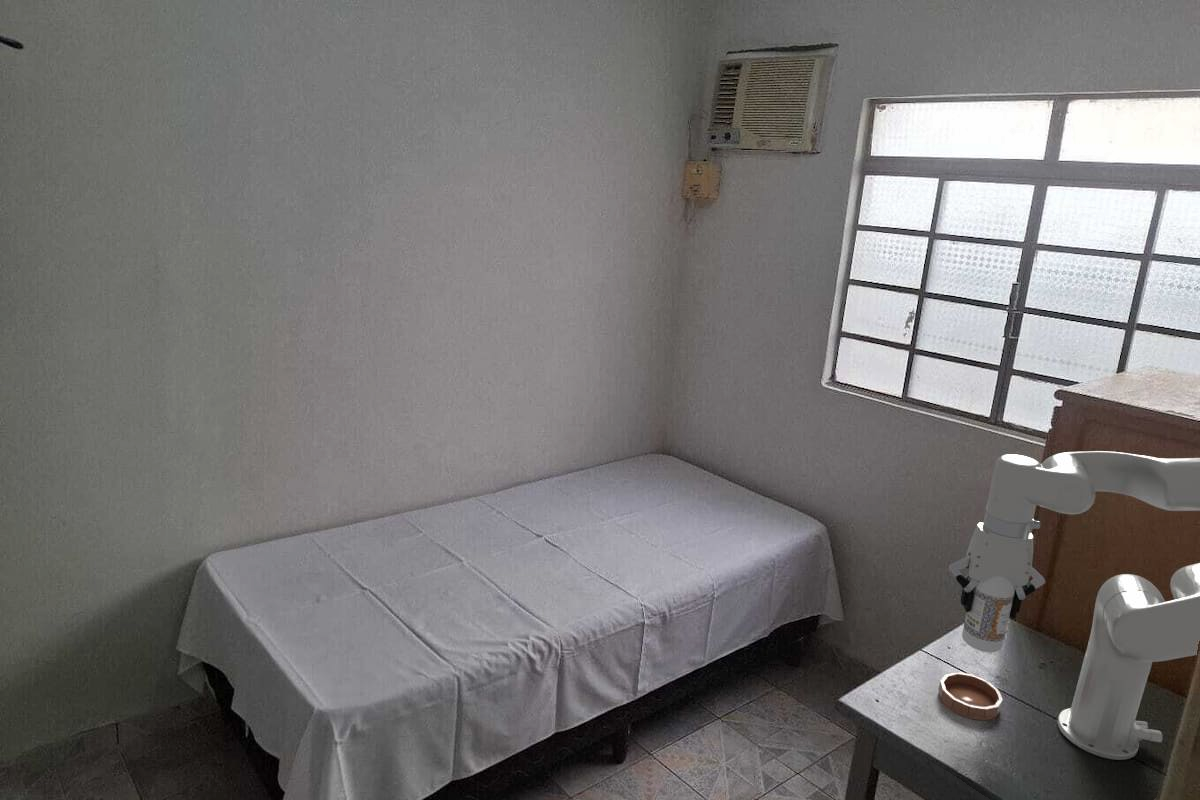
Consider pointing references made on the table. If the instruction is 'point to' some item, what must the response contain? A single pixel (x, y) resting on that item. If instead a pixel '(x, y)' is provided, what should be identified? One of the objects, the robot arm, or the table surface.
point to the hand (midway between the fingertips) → (988, 610)
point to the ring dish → (970, 696)
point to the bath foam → (989, 614)
